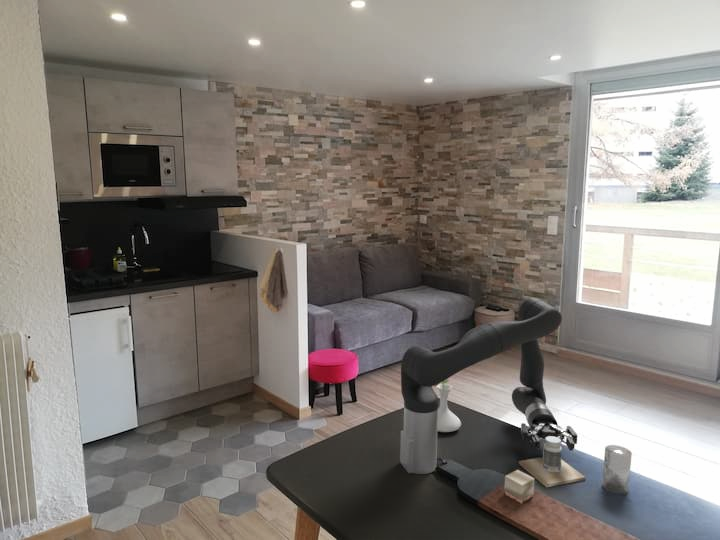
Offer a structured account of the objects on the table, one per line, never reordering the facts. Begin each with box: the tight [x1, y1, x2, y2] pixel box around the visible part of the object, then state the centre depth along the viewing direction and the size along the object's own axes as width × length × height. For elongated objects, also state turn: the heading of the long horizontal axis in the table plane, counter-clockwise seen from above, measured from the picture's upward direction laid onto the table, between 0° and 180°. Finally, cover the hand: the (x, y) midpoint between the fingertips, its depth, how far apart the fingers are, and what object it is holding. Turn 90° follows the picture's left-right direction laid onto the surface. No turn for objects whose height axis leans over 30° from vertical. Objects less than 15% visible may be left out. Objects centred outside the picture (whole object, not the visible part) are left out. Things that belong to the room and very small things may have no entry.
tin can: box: [601, 444, 632, 495], centre depth 130 cm, size 6×6×10 cm
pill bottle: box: [542, 436, 563, 473], centre depth 138 cm, size 5×5×8 cm
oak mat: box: [518, 456, 586, 488], centre depth 138 cm, size 12×12×1 cm
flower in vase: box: [434, 377, 462, 433], centre depth 161 cm, size 13×11×25 cm
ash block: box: [503, 469, 536, 501], centre depth 127 cm, size 5×5×5 cm
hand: (554, 446), depth 135 cm, fingers open, 8 cm apart
